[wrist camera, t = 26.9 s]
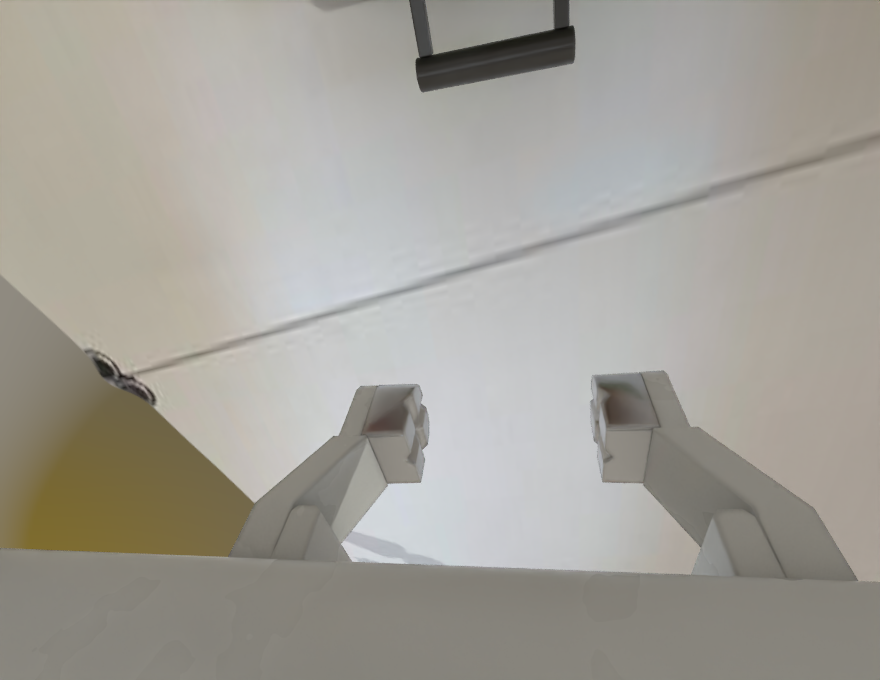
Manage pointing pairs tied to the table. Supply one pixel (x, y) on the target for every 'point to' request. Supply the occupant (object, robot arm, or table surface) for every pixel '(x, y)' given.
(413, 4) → the drawer
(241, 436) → the table surface
